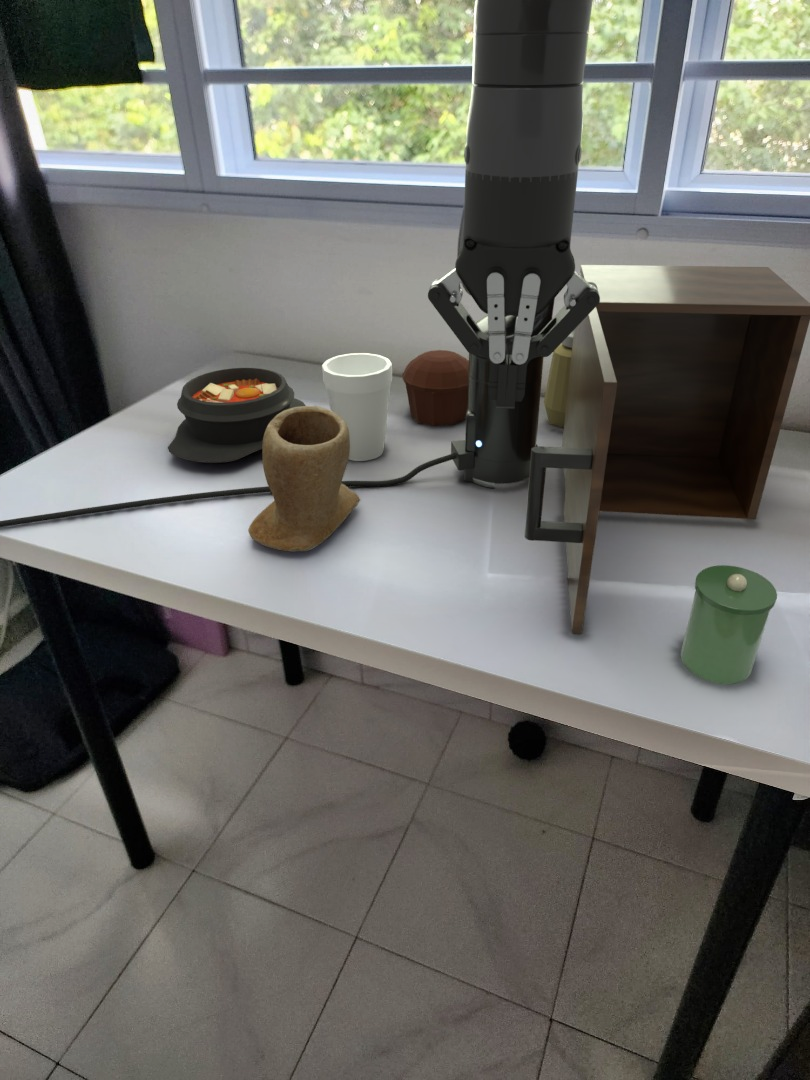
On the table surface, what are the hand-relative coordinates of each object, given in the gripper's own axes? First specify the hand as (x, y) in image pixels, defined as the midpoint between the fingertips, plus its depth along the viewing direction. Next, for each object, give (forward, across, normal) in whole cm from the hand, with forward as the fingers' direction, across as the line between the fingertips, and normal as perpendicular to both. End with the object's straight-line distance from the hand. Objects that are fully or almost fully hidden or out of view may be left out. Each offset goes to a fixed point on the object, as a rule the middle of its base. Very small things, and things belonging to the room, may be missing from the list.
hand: (505, 404), depth 60 cm
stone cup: (+25, +22, -18) cm, 38 cm away
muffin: (+26, +10, -53) cm, 60 cm away
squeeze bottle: (+25, -10, -51) cm, 58 cm away
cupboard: (+25, -19, -32) cm, 45 cm away
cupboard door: (+24, -6, -12) cm, 28 cm away
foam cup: (+26, +20, -39) cm, 51 cm away
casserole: (+26, +39, -42) cm, 63 cm away
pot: (+24, -21, +1) cm, 32 cm away
